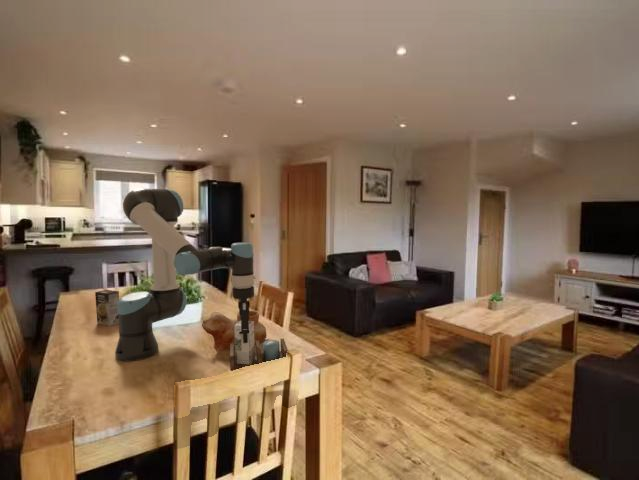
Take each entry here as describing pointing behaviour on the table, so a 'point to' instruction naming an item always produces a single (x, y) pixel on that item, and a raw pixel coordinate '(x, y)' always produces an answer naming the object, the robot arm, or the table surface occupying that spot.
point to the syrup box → (241, 357)
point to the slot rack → (258, 355)
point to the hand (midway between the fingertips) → (245, 344)
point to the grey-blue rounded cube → (271, 350)
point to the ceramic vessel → (230, 329)
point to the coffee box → (107, 307)
